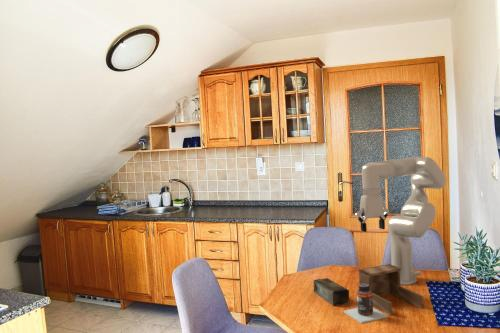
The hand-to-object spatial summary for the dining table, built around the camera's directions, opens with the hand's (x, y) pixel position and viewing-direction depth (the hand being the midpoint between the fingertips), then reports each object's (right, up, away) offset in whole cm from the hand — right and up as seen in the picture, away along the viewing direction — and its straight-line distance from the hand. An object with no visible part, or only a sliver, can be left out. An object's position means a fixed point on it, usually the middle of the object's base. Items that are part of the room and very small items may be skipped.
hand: (373, 230), depth 193 cm
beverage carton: (-19, -30, -2) cm, 36 cm away
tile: (-10, -30, -23) cm, 39 cm away
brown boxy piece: (+4, -29, -13) cm, 32 cm away
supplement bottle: (-9, -30, -23) cm, 39 cm away
